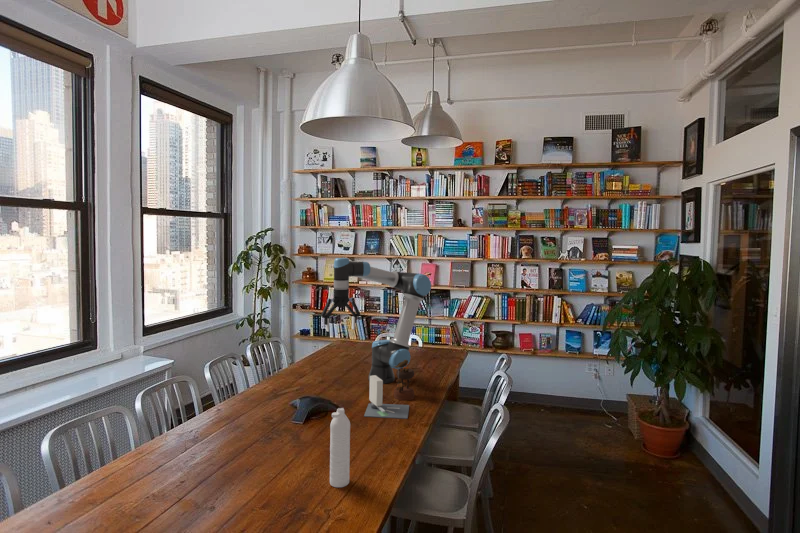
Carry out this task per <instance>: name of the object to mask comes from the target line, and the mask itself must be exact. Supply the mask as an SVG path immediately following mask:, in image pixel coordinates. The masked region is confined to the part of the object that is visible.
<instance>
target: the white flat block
mask: <svg viewBox="0 0 800 533" xmlns="http://www.w3.org/2000/svg"><path fill="white" fill-rule="evenodd" d="M383 386H384V384H383V380H382V379H380V378H379V377H377V376H376V375H372V376H370V381H369V387H368V388H369V398H368V400H369V401H370V403H371V407H372V408H378V409H380V410H381V411H382V412H383V413H384V412H385V410H384V409H383V408H382V407H380V406H382V404H383V400H384V399H383V395H384V394H383V393H384V391H383V390H384V389H383V388H384V387H383Z"/></svg>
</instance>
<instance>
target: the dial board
mask: <svg viewBox="0 0 800 533" xmlns="http://www.w3.org/2000/svg"><path fill="white" fill-rule="evenodd" d="M380 407H382V408H383V409H384V410H385V412H384V413H383V412H382V411H381V410H380V409H378V408H372V407H371V402H368V404H367V407H366V410H365V412H364V415H363V417H366V418H383V419H400V420H401V419H406V420H407V419H409V418H408V417H409V411H410V405H409V404H394V403H392V404H391V403H382V406H380Z"/></svg>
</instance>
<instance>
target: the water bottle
mask: <svg viewBox="0 0 800 533" xmlns="http://www.w3.org/2000/svg"><path fill="white" fill-rule="evenodd" d="M345 411H346V410H345V409H344V407H338V408H337V409H336V412H335V411H334V412H332V413H331V417H332V419H331V422H330V425H329V429H330V434H329V435H330V437H329V439H330V440H329V441H330V442H329V445H330V446H329V453H330V454H329V484H330V486H332V487H334V488H345V487H347V486H348V485H349V484H350V466H351V463H350V461H351V458H350V456H351V452H350V451H351V442H350V441H351V422H350V419H349V418H348V417H347V415H346V413H345Z"/></svg>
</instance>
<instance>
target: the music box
mask: <svg viewBox="0 0 800 533" xmlns="http://www.w3.org/2000/svg"><path fill="white" fill-rule="evenodd" d="M407 363H408V360H404V361H402V362H400V363H399V364H398V365H397V366H394V367H397V368H398V367H400V369H396V371H395V372H396V373H395V374H396V377H397V379H396V383H397V385H396V387H395V389H394V391H393V398H394V399H396V400H398V401H411V400H414V398H415V390H414V389H413V388H411V387H409V385H410V383H412V380H411V379H412V378H414V376H415V371H414V369H412V368H409V367H408V365H407ZM406 365H407V366H406ZM405 366H406V367H405ZM402 367H403V368H402Z"/></svg>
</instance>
